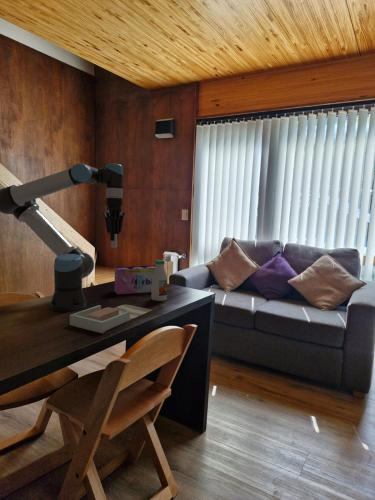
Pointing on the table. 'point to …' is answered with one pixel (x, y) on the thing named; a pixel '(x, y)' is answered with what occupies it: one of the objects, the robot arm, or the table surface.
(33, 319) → the table surface
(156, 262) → the milk bottle
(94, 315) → the tile front
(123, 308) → the board
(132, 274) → the gum box
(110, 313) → the tile back
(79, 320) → the tray
